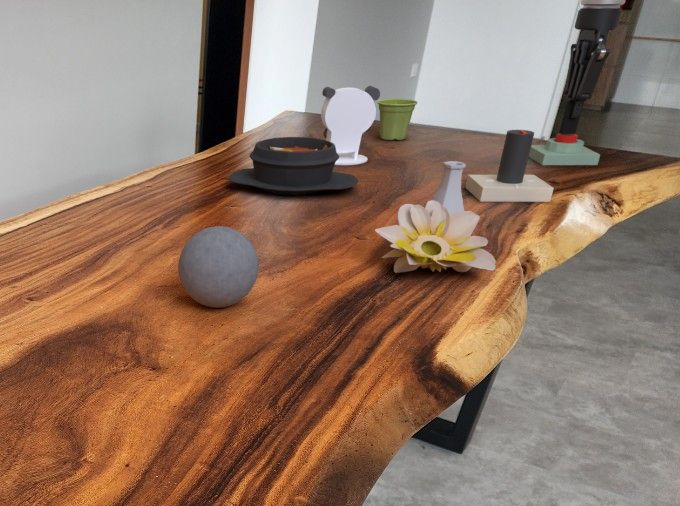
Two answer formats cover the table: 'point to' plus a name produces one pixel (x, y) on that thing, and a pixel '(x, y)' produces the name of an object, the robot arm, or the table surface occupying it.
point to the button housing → (563, 153)
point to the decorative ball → (218, 266)
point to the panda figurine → (348, 120)
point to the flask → (451, 187)
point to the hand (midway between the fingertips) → (567, 133)
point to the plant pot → (395, 117)
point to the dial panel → (509, 189)
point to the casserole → (294, 167)
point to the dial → (515, 156)
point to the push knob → (566, 138)
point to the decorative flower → (436, 239)
